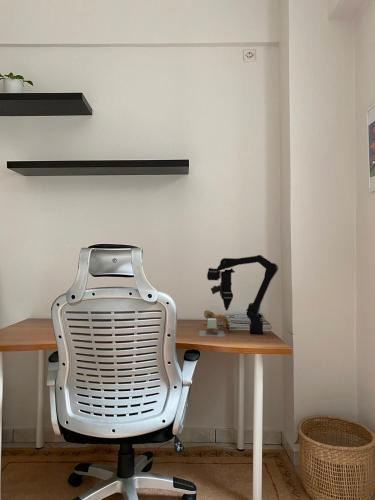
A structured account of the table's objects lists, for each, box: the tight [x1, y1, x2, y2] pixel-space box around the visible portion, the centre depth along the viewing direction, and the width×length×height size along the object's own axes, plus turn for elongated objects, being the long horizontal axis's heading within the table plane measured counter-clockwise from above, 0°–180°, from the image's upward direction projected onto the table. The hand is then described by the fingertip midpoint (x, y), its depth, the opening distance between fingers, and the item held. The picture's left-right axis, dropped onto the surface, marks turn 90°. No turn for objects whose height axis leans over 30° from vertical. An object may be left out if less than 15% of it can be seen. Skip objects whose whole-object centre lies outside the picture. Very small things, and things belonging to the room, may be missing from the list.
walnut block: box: [205, 326, 219, 335], centre depth 201 cm, size 6×6×3 cm
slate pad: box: [199, 330, 226, 337], centre depth 201 cm, size 13×14×1 cm
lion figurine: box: [203, 309, 228, 327], centre depth 228 cm, size 15×5×9 cm, turn 84°
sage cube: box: [207, 318, 218, 329], centre depth 201 cm, size 4×4×4 cm
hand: (226, 309), depth 211 cm, fingers open, 9 cm apart
